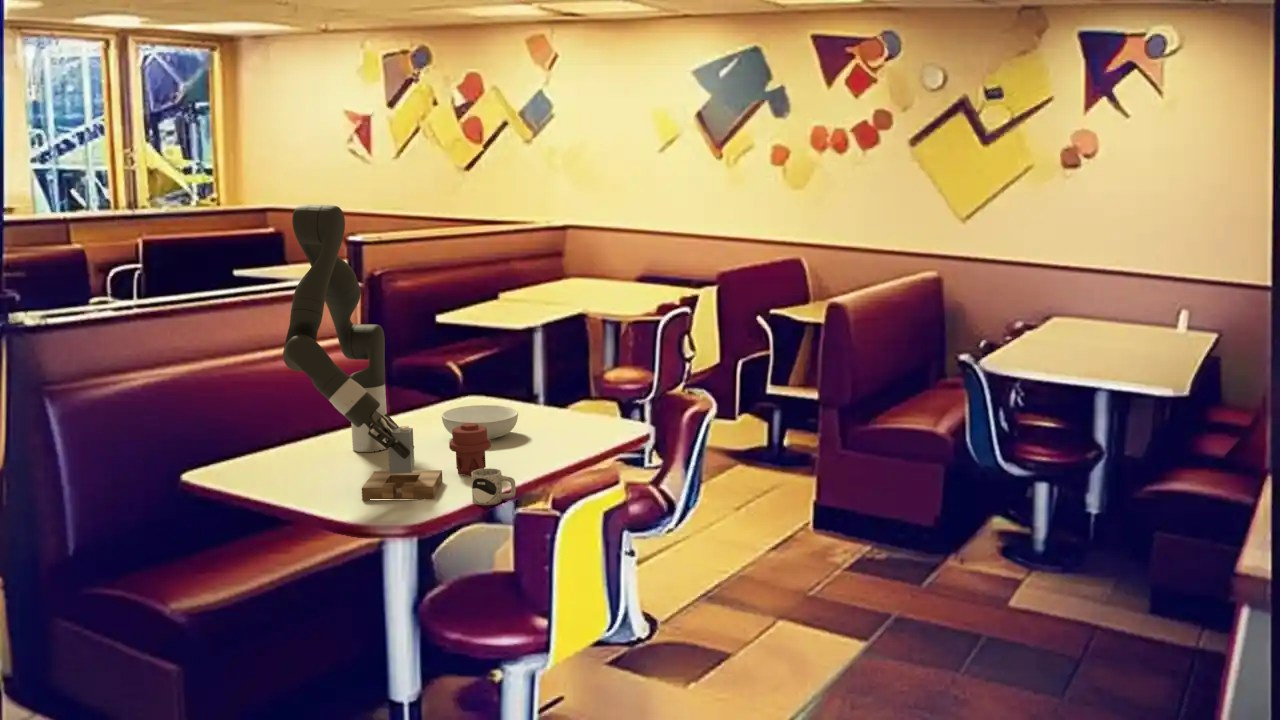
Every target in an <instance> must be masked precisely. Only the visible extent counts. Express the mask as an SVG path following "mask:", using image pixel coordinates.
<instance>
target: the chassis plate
mask: <svg viewBox="0 0 1280 720" xmlns="http://www.w3.org/2000/svg"><path fill="white" fill-rule="evenodd" d="M442 485H443V470H442V469H436V470H435V469H428V470H425V469H423V470H421V469H420V470H413V471H412V473H389V470H375V471H373V472H372V474H371V475H370V476H369V478H368V479H367V480H366V481H365V482H364V484H363V485H362V487H361V498H362V499H361V500H370V499H426V500H429V501H430V500H435V497H436V496H437V494H438V491H439V490H440V488H441V486H442Z"/></svg>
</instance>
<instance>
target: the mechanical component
mask: <svg viewBox="0 0 1280 720" xmlns="http://www.w3.org/2000/svg"><path fill="white" fill-rule="evenodd" d="M451 435H452V440H450V441H449V442H448V446H449V450H450V451H452V452H454V453H455V461H456V463H455V464H456V465H455V466H456V470H457V474H458V475H460V474H462V475H463V476H468V477H469V478H472V475H471V473H472V472H473V471H475V470H478V469H485V468H487V467H486V451H487V450H489V449H490V448H491V447H492V439H491V440H490V439H488V438H487V428H486V427H484V426H480V425H478V424H476V423H465V424H462V425H461V426H459V427H456V428H454V429H452V434H451Z"/></svg>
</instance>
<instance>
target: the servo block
mask: <svg viewBox="0 0 1280 720" xmlns="http://www.w3.org/2000/svg"><path fill="white" fill-rule="evenodd" d="M399 427H400V428H397V429H392V428H391V429H392V430H393V435H394V436H395V437H396V438H397V439H398V440H399V441H400V442H401V443H402V444H403V445H404V446H405V447H406V448H407V449H408V450H410V452H411V453H410V455H409V456H408V457H407V458H406V459H403V458H402V457H401V456H400V455H399V454H398V453H397V452H395V451H394V450H393V448H392V449H390V448H388V449H387V451H388V452H387V453H388V456H387V457H388V471H389V473H412V471H415V470H414V469H415V446H414V445H415V444H414V428H413V427H409V425H401V426H399ZM388 441H389V439H388Z"/></svg>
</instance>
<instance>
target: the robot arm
mask: <svg viewBox="0 0 1280 720" xmlns="http://www.w3.org/2000/svg"><path fill="white" fill-rule="evenodd" d="M291 221H292V222H291V225H292V230H293V232H294V236H295V238H296V240H297V243H298V244H299V247H300V249H301V250H302V251H303V253H304V255H305V257H306V259H307V260H308V262H309V265H310V266H311V267H310V269H309V270H308V271H307V272H306V273H305V274H304V276H302V278H301V279H300V281H299V282H298V283H297V286H296V288H295V290H294V293H293V297H292V304H291V309H290V315H289V318H290V321H289V325H288V330H287V333H286V338H285V342H284V346H283V352H282V358H283V359H282V360H283V362H284V363H285V365H286V367H287V368H288V369H290V370H292V371H294V372H304V373H305V374H306V376H308V377H309V378H310V379H311V380H310V381H311V382H312V386H314V388H315V389H316V390H317V391H318V392H319V393H320V394H321V395H323V397H324V398H326V399H327V400H328V401H329V402H330V403H331V404H332V406H333V407H334V408H335V409H336V410H337V411H338V412H339V413H340V414H341V415H343V416H344V417H345V419H347V420H348V421H349V422H351V423H350V425H351V438H352V442H351V443H352V450H353V451H354V452H360V453H374V451H375V452H380V451H379V450H381V451H384V450H386V448H387V450H388V448H390V449H392V448H393V450H394V451H395V452H397V453H398V454H399V455H400V456H401V457H402V458H403V459H406V458H407V457H408V456H409V455H410V453H411V452H410V450H408V449H407V448H406V447H405V446H404V445H403V444H402V443H401V442H400V441H399V440H398V439H397V438H396V437H395V436H394V435H393V430H392V429H397V428H400V427H401V426H399V425H398V424H397V423H396V422H395V421H394V420H393V418H391V417H390V415H389V414H388V412H387V397H386V396H387V395H386V379H385V377H386V364H385V361H386V360H385V356H386V355H385V353H386V352H385V351H386V350H385V349H386V347H385V346H386V342H385V341H386V340H385V339H386V337H385V332H384V329H383V328H382V326H381V325H380V324H373V323H371V324H370V323H369V324H365V323H363V324H357V323H356V324H355V323H353V322H352V321H351V318H352V314H353V313H354V311H355V310H356V308H357V306H358V304H359V302H360V299H361V295H362V294H361V293H362V291H361V286H360V284H359V281H358V278H357V276H356V273H355V271H354V270H353V268H352V267H351V266H350V265H349V264H348V263H347V262H346V261H345V260H344V259H343V258H342V257H340V256H339V253H340V250H341V246H342V243H343V239H344V235H345V229H346V219H345V215H344V212H343V210H342V209H341V207H340V206H338V205H333V204H332V205H331V204H327V205H326V204H303V205H299V206H297V207H296V208H295V209H294V210H293V213H292V219H291ZM325 304H326V306H327V309H328V312H329V314H330V316H331V320H332V323H333V324H334V325H333V326H334V329H335V333H336V336H337V340H338V344H339V347H340V350H341V353H342V354H343V356H344V357H345V358H346V359H349V360H357V361H358V360H360V361H361V360H362V361H363V360H368V366H367V367H365V368H364V369H362V370H358V371H356V372H353V373H351V374H350V375H348V374H347V373H346V372H345V371H344V370H343V369H342V368H341V367H339V366H338V365H337V364H336V363H335V362H334V361H333V360H332V358H331V357H330V356H329V355H328V352H327V351H325V349H324V348H323V347H322V346H321V344H320V343H318V342H317V339H318V332H319V330H320V327H321V324H322V321H323V316H324V308H325ZM391 428H392V429H391ZM388 439H389V441H388ZM383 449H384V450H383Z"/></svg>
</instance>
